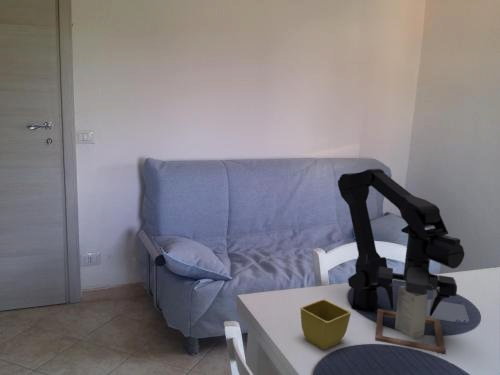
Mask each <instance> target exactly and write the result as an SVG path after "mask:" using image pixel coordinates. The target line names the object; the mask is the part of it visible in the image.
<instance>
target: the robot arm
mask: <svg viewBox="0 0 500 375" xmlns="http://www.w3.org/2000/svg"><path fill="white" fill-rule="evenodd" d="M337 187H338V190H339V193H340V196H341V198H342V199H343V201H344V202H346V204H347V205H348V208H349V209H348V210H349V214H350V218H351V222H352V229H353V233H354V238H355V242H356V243H355V244H356V248H357V254H358V256H357V259H356V262H355V265H354V266H355V273H354V274H352V275H351V276H350V277H348V279H347V282H348V286H349V287H350V288H352V289H353V292H352V302H351V307H350V309H352V310H355V311H362V312H368V313H375V312H376V310H377V309H378V301H379V291H378V290H377V288H383V289H385V291H386V294H387V296H388V301H389V305H390V309H391V310H393V309H394V282H399V283H405V285H406V287H405V290H406V291H407V292H409V293H418V294H421V295H426V294H427V293H428V291H433V293H432V298H431V300H432V301H431V306H430V313H429V315H430V316H432V314H433V312H434V311H435V309H436V307H437V306H438V304H439V303H440V302H441V301H443V300H444V299H450V297H456V296H457V292H458V285H457V282H456V279H455V278H454V277H452V276H446V275H439V274H432V273H430V265H431V261H433V262H435V263H437V264H440V265H443V266H445V267H448V268H450V269H456V268H459V267H460V266H461V265H462V262H463V260H464V258H465V250H464V247H463V246H462V245H461V239H460V238H458V237H451V236H448V234H449V231H448V229H447V227H446V225H445V222H444V220H443V218H442V216H441V213H440V211H441V210H440V208H439V206H437V205H436V204H434V203H432V202H431V201H429V200H426V199H423V198H421V197H418V196H415V195H413V194H412V193H410V192H409V191H408V190H407V189H405V188H404V187H403V186H401V184H399V183H398V182H396V181H395V180H394V179H393V178H392V177H390V176H389V175H388V174H386V173H385V171H384V170H383V169H381V168H368V169H366V170H363V171H360V172H350V173H349V172H348V173H343V174H341V175H340V177H339V179H338V180H337ZM370 187H372V188H373V189H375V191H377V192H378V193H379V194H381V195H382V196H383V197H384V198H385V199H387V201H389V202H390V203H391V204H393V205H394V207H396V209H398V210H399V212H400V216H401V218H402V219H403V221H405V223H406V224H407V225H406V226H405V227H403V228H402V229H401V230H400V231H401V232H402V233H404V234H407V241H406V242H407V243H406V252H405V259H404V265H403V266H404V268H403V274H402V273H396V272H394V268H392V267H388V264H387V259H386V257H385V256H383V257H381V255H380V254H379V253H378V251H377V248H376V243H375V237H374V234H373V229H372V225H371V223H372V222H371V219H370V215H369V210H368V205H367V204H368V203H367V200H368V196H369V194H370ZM431 227H433V228H431ZM426 228H427V229H426ZM428 228H429V229H428Z"/></svg>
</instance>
